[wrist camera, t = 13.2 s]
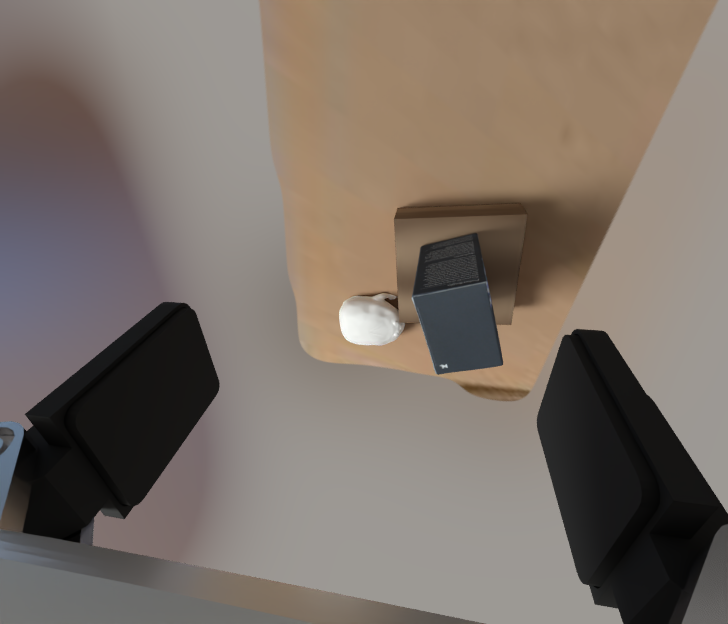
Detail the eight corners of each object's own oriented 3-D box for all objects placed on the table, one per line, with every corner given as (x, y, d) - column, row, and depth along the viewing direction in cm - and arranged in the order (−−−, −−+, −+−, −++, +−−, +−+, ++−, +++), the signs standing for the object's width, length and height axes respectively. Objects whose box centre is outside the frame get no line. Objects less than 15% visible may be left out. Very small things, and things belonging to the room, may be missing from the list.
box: (491, 300, 37) (504, 367, 29) (437, 310, 39) (433, 376, 31) (478, 229, 34) (488, 282, 25) (419, 244, 36) (409, 297, 27)
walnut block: (398, 206, 38) (394, 219, 35) (519, 201, 36) (527, 214, 32) (402, 304, 44) (399, 322, 41) (505, 305, 42) (511, 324, 39)
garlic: (404, 290, 43) (402, 307, 40) (406, 336, 47) (404, 355, 43) (339, 291, 45) (332, 307, 41) (346, 335, 48) (340, 353, 45)
